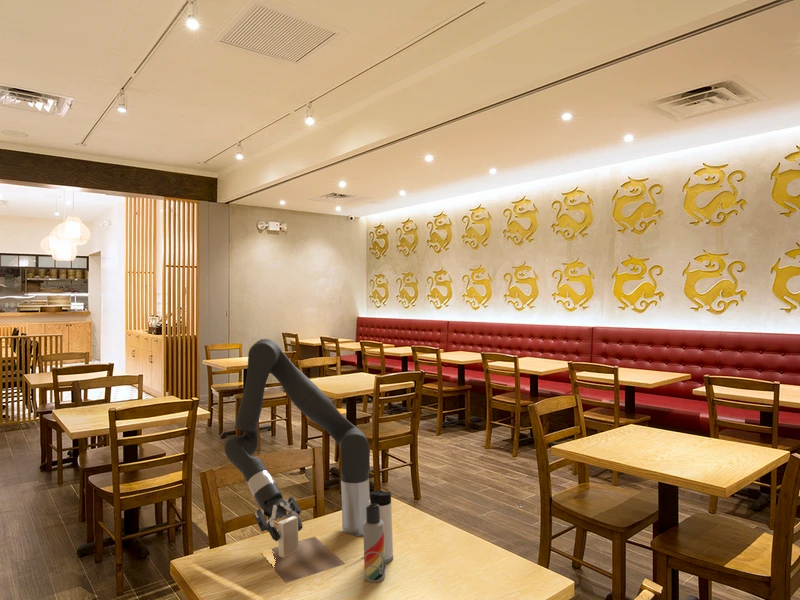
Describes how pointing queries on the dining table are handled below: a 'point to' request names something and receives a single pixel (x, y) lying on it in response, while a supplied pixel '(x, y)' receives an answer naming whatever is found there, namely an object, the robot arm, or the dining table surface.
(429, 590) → the dining table surface
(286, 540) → the tile
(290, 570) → the cloth
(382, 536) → the lotion bottle
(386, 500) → the travel mug
